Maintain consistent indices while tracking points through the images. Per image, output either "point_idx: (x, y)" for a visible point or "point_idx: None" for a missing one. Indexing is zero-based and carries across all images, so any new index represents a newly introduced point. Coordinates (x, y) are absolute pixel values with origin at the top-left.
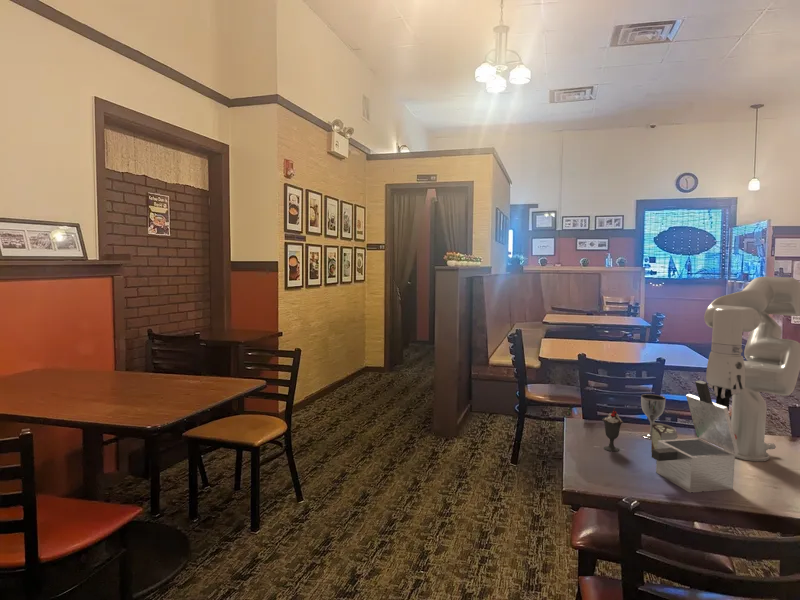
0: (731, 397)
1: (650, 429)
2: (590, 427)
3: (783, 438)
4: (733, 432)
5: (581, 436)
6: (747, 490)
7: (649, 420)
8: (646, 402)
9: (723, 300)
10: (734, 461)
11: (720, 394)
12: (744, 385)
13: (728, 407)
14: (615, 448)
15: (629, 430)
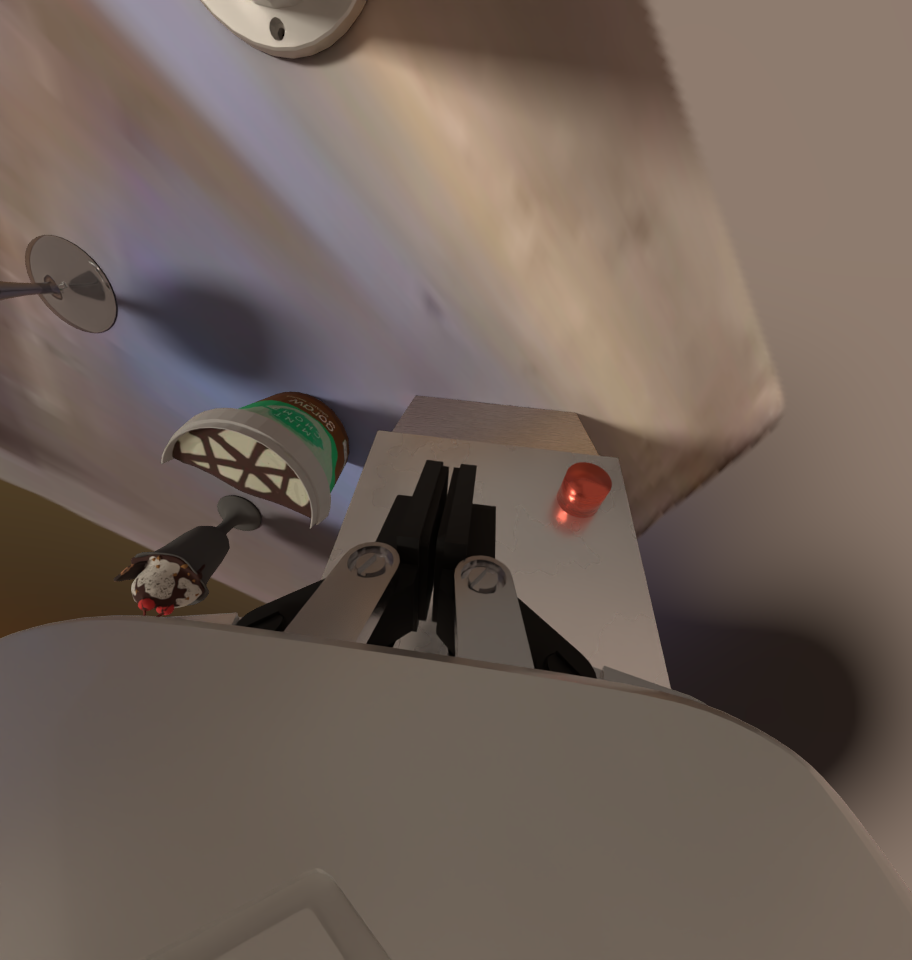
0: (507, 568)
1: (35, 293)
2: (28, 445)
3: None
4: (639, 557)
5: (138, 521)
6: (603, 373)
7: None
8: None
9: None
10: (598, 455)
11: (404, 627)
12: (902, 893)
13: (495, 509)
14: (244, 512)
15: (7, 322)
